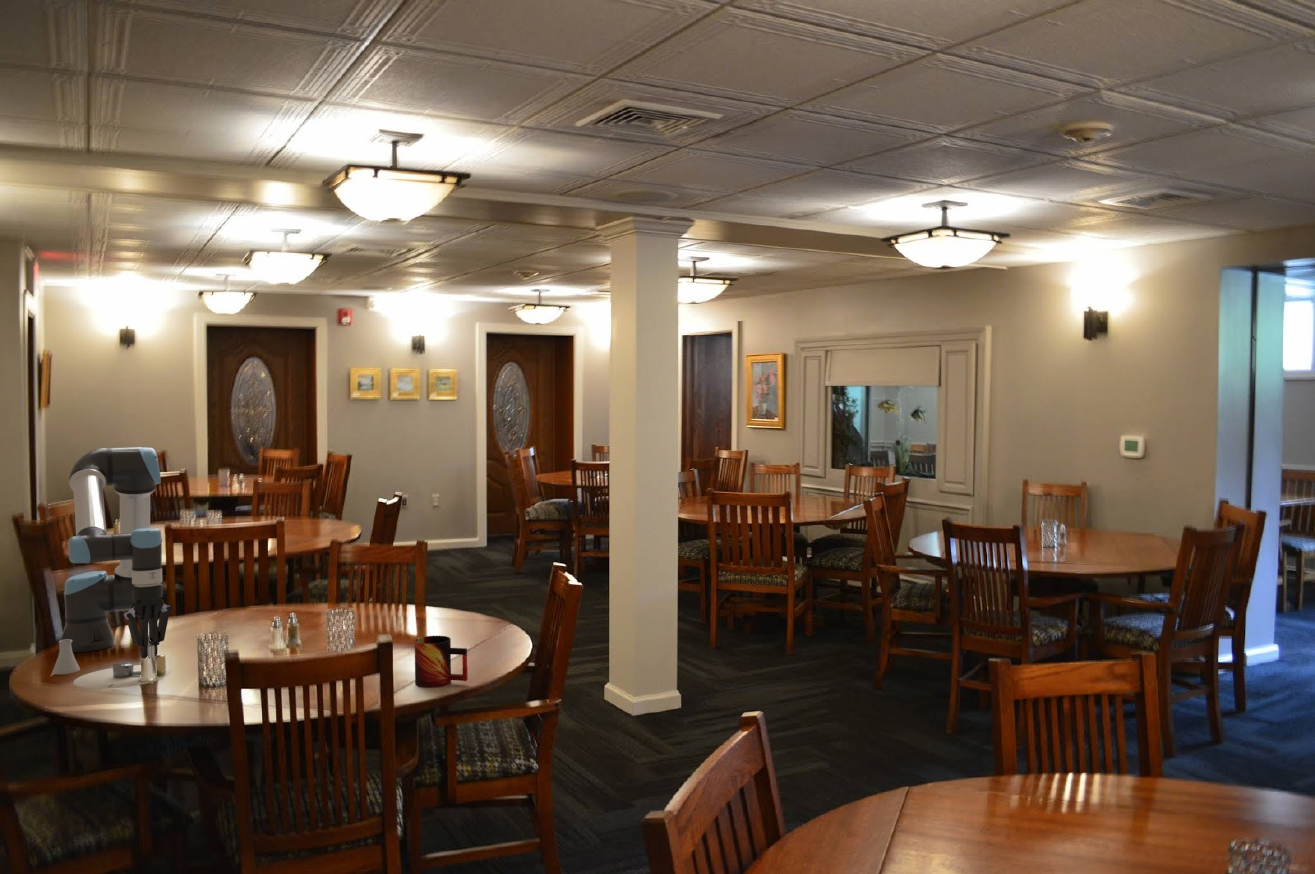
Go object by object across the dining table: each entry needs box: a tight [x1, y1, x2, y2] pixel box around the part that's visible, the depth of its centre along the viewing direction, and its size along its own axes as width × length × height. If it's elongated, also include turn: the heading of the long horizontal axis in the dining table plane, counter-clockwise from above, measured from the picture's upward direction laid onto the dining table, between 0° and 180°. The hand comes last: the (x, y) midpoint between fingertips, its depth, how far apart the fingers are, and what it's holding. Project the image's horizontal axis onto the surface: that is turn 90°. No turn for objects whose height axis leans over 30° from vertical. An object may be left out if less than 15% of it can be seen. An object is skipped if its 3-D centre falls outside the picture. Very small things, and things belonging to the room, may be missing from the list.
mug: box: [414, 635, 469, 689], centre depth 275 cm, size 10×14×12 cm
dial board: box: [73, 664, 172, 690], centre depth 278 cm, size 24×24×1 cm
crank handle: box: [112, 654, 167, 678], centre depth 279 cm, size 14×5×5 cm, turn 96°
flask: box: [50, 639, 81, 677], centre depth 284 cm, size 7×7×10 cm
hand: (149, 668), depth 278 cm, fingers closed
